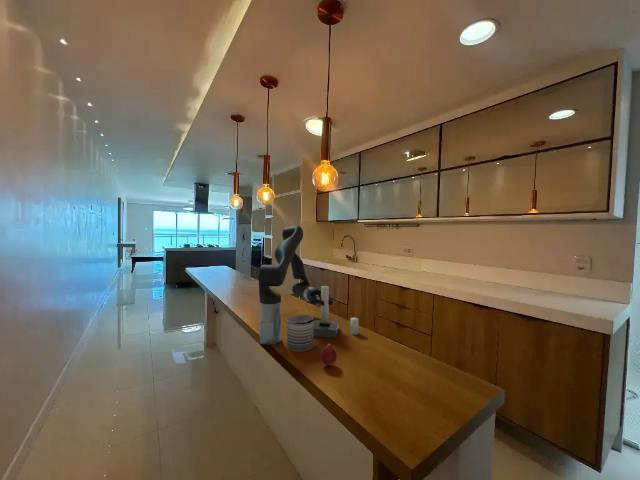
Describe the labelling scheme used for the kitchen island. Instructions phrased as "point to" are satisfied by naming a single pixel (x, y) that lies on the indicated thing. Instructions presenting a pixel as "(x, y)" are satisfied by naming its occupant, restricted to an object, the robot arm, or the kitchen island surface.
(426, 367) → the kitchen island surface
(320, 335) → the hole plate
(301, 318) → the can
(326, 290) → the long pin
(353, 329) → the short pin
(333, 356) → the onion
